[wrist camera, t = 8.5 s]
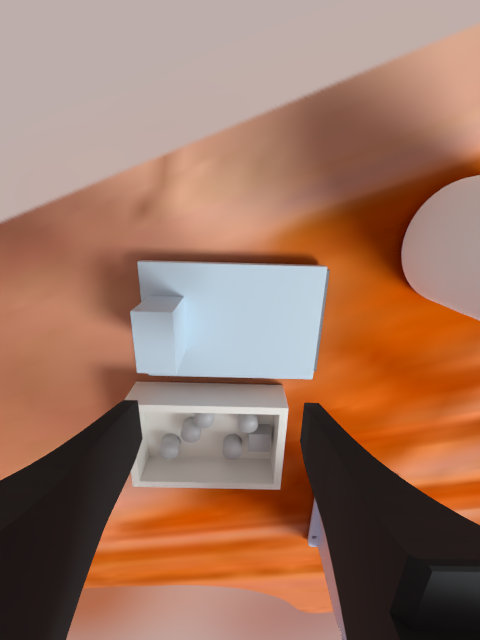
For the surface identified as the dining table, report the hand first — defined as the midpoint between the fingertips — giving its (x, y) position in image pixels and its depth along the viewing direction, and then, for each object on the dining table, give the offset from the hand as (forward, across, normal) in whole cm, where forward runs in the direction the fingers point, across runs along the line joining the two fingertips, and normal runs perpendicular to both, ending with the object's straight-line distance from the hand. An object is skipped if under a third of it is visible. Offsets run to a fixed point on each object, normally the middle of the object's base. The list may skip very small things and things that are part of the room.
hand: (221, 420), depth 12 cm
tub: (+10, +2, +8) cm, 13 cm away
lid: (+9, 0, -1) cm, 9 cm away
